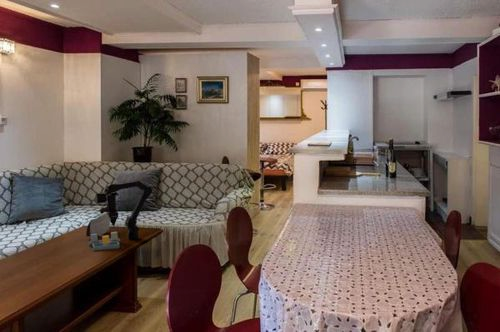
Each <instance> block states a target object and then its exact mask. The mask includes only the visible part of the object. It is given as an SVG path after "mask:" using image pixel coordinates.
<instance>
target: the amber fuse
mask: <svg viewBox="0 0 500 332" xmlns="http://www.w3.org/2000/svg"><path fill="white" fill-rule="evenodd" d="M109 239H110V235H102V236H101V240H102V243H103V246H106V245H109Z"/></svg>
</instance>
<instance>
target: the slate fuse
mask: <svg viewBox="0 0 500 332" xmlns="http://www.w3.org/2000/svg"><path fill="white" fill-rule="evenodd" d="M98 240H99V239H98V236H97V234H91V237H90V241H91V243H94V242H98Z"/></svg>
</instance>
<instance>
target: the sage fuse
mask: <svg viewBox="0 0 500 332" xmlns="http://www.w3.org/2000/svg"><path fill="white" fill-rule="evenodd" d="M118 236H119V234H118V231H111V232H110V239H111V240H112V241H114V240H118V238H119V237H118Z"/></svg>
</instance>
